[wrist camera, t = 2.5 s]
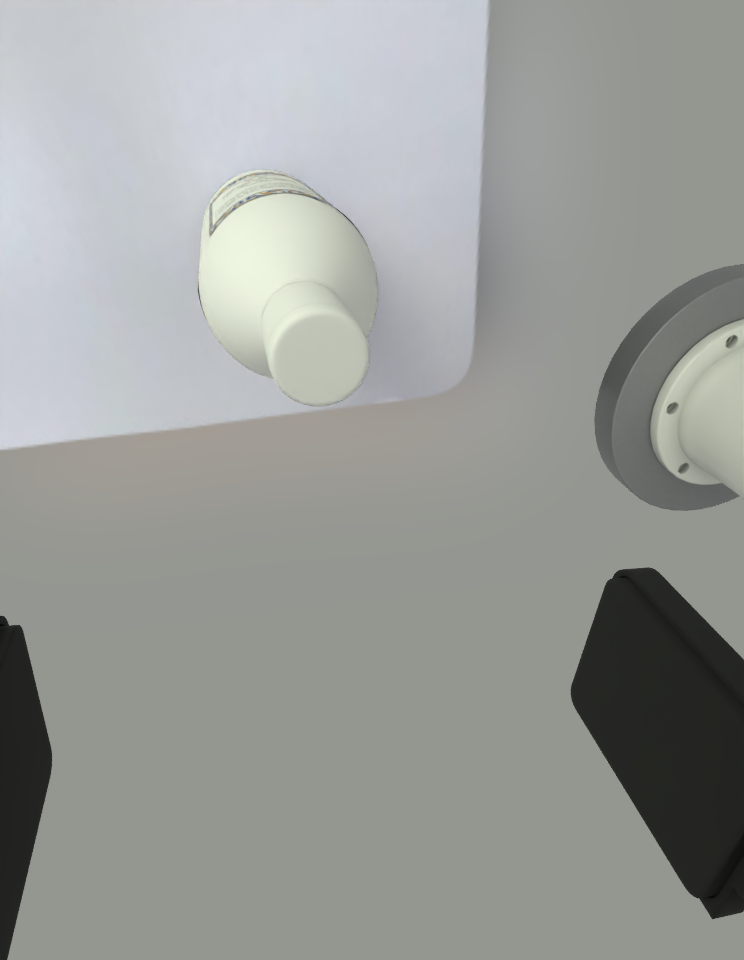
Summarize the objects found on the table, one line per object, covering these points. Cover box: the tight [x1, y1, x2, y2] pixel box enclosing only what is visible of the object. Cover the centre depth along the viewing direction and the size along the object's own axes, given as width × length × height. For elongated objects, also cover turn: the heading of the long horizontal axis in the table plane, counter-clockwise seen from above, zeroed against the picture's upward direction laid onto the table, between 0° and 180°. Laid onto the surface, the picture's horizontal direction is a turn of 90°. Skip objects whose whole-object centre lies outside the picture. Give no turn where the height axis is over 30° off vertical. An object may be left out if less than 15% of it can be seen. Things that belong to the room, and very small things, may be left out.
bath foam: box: [198, 169, 378, 406], centre depth 26 cm, size 7×7×20 cm
